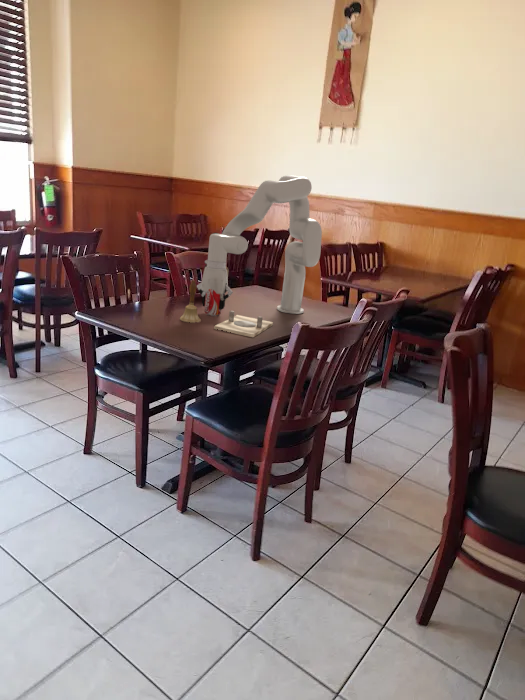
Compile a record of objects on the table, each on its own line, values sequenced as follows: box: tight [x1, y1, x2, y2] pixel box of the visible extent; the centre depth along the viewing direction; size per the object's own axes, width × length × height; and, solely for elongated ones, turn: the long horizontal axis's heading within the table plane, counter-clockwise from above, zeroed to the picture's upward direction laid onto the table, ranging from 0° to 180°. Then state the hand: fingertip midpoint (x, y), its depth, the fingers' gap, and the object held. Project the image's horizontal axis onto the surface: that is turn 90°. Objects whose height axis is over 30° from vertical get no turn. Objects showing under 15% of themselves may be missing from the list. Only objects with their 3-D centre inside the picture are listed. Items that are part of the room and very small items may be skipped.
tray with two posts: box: [213, 310, 274, 338], centre depth 197 cm, size 22×16×5 cm
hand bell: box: [179, 279, 202, 324], centre depth 196 cm, size 8×8×16 cm
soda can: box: [204, 287, 222, 317], centre depth 208 cm, size 7×7×12 cm
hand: (213, 307), depth 209 cm, fingers closed on soda can, 7 cm apart
